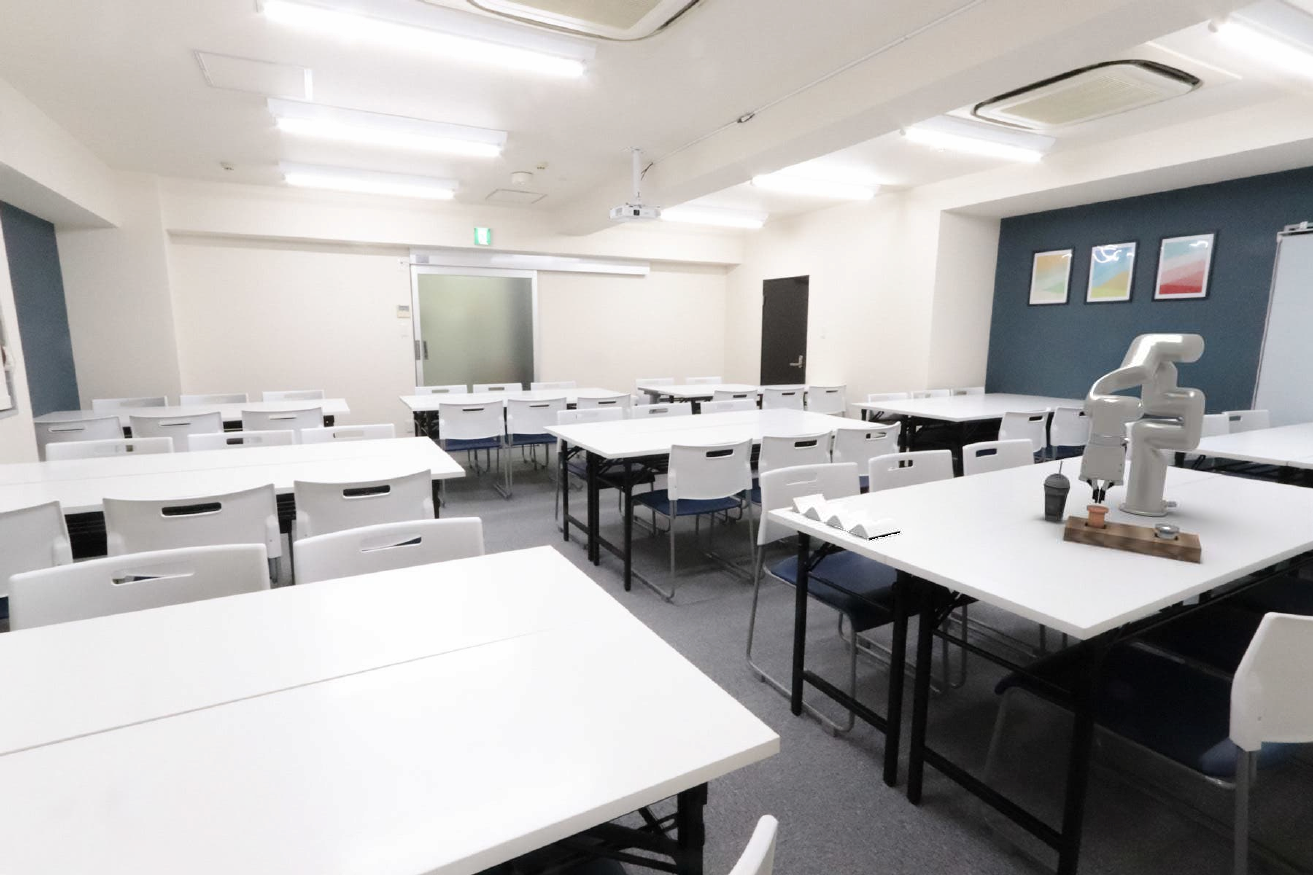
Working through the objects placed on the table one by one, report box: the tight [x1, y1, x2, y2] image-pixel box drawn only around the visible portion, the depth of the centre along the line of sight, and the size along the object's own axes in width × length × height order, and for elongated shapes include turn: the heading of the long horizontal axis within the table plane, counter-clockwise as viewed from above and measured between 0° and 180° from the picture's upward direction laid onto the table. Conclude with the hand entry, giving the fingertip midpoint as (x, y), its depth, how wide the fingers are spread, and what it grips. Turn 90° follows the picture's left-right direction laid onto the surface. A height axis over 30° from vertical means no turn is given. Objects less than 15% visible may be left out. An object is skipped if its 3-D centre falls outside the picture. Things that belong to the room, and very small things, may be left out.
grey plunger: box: [1154, 523, 1181, 540], centre depth 167 cm, size 5×5×6 cm
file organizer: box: [792, 492, 901, 541], centre depth 195 cm, size 13×35×5 cm, turn 28°
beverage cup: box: [1043, 460, 1071, 524], centre depth 193 cm, size 7×7×20 cm
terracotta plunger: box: [1086, 504, 1110, 529], centre depth 177 cm, size 5×5×6 cm
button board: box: [1062, 515, 1203, 564], centre depth 173 cm, size 30×14×4 cm, turn 52°
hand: (1097, 502), depth 176 cm, fingers closed
